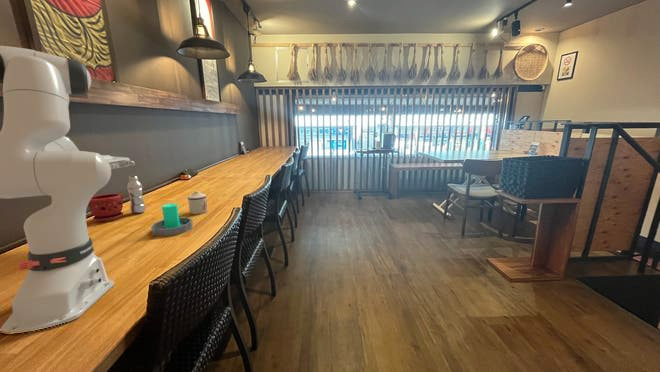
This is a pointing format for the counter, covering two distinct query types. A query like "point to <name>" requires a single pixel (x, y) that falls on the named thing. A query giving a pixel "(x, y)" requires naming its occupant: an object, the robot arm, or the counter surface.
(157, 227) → the dish
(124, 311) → the counter surface
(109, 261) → the counter surface
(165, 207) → the candle
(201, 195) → the teacup with lid
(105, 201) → the plant pot
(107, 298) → the counter surface
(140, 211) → the plastic bottle
